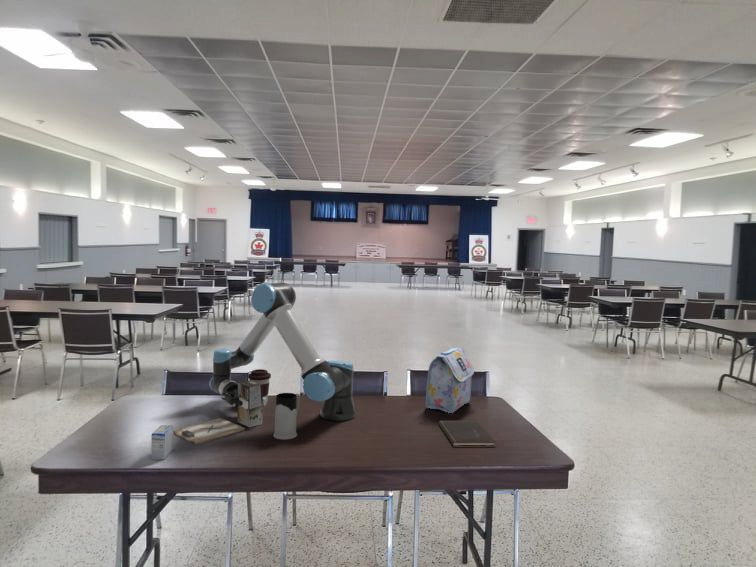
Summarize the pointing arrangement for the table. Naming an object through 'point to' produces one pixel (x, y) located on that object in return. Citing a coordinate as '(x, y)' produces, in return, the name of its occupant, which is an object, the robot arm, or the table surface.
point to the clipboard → (208, 430)
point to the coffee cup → (261, 380)
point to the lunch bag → (449, 381)
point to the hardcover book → (466, 433)
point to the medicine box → (162, 442)
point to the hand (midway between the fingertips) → (256, 403)
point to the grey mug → (286, 415)
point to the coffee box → (250, 403)
